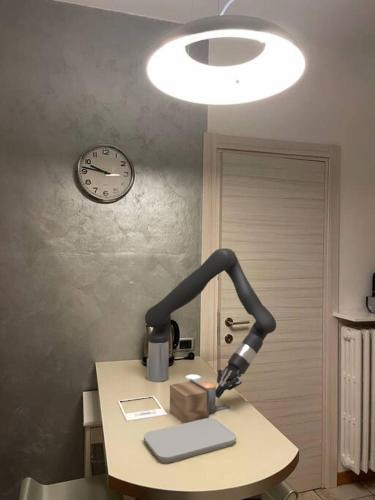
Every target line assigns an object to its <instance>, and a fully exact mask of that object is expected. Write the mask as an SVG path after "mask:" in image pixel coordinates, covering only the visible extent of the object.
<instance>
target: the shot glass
mask: <svg viewBox="0 0 375 500" xmlns="http://www.w3.org/2000/svg"><path fill="white" fill-rule="evenodd" d="M184 379H185V380H184V382H188V381H190V379H192V380H193V381H195V382H197V383H198V384H199V383H201V382H202V375H200V374H198V373H197V374H196V373H194V374H193V373H191V374H186V375H185V376H184Z"/></svg>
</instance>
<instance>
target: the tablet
mask: <svg viewBox="0 0 375 500" xmlns="http://www.w3.org/2000/svg"><path fill="white" fill-rule="evenodd" d="M236 439H237V435H236V434H235V432H233V431H232V430H231V429H230V428H228V427H227V426H226V425H224V424H223V423H222V422H220V421H219V420H218V419H215V418H212V417H209V418H206V419H201V420H197V421H193V422H188V423H184V424H183V423H180V424H176V425H172V426H167V427H163V428H158V429H154V430H150V431H147V432H145V433H144V435H143V440H144V442H145V444H146V445H147V447H148V448H149V449H150V450H151V452H152V453H153V454H154V455H155V457H156V458H157V460H158V461H160V462H161V463H164V464H165V463H166V464H167V463H172V462H177V461H180V460H183V459H187V458H191V457H194V456H198V455H202V454H204V453H208V452H212V451H215V450H220V449H223V448H227V447H229V446H232V445H233V444H234V443H235V441H236Z"/></svg>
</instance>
